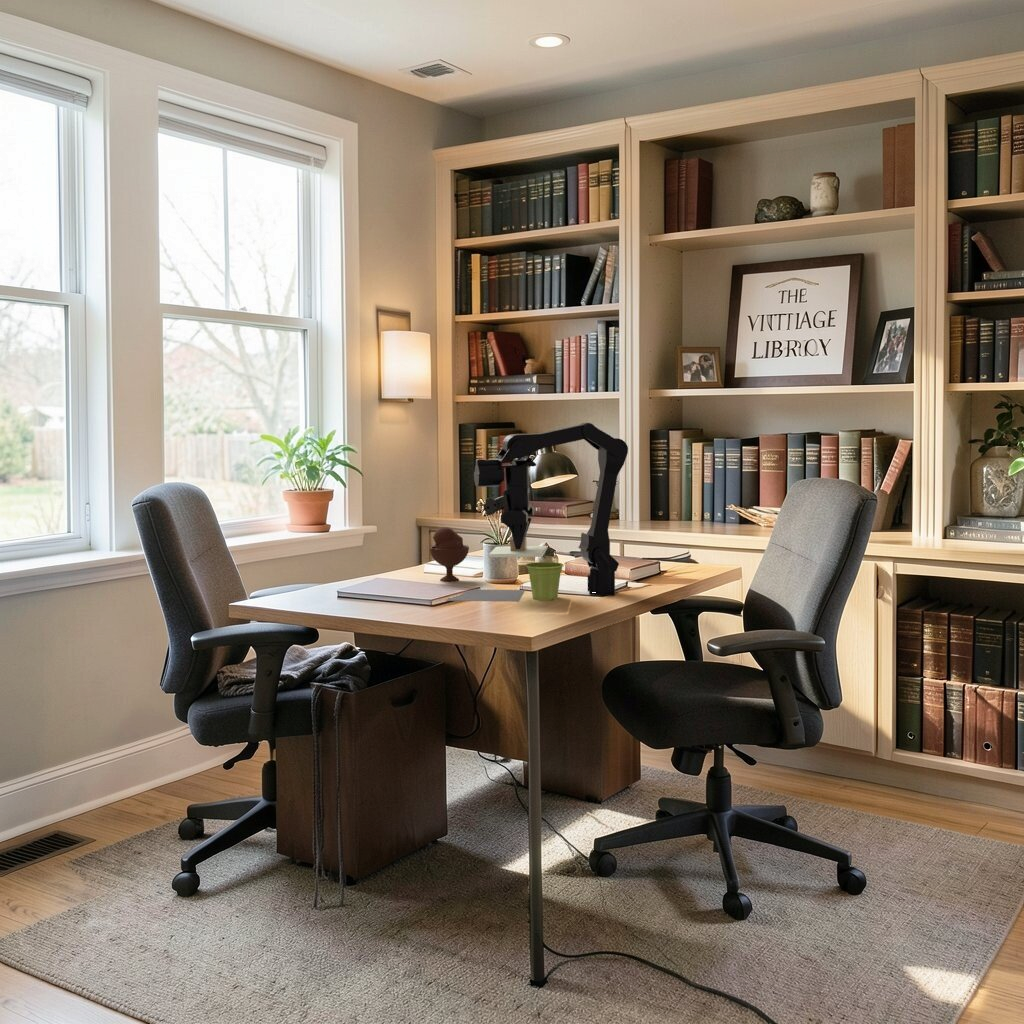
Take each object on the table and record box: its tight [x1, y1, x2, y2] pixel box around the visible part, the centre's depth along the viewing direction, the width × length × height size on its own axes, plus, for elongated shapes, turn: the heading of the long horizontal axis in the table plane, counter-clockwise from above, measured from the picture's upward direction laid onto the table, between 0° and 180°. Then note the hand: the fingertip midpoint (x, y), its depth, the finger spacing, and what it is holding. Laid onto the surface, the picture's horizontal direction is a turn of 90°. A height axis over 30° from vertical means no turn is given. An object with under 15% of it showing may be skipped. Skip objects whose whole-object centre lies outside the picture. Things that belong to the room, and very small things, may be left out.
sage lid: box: [488, 536, 548, 558], centre depth 267 cm, size 13×13×4 cm
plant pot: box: [525, 561, 564, 601], centre depth 266 cm, size 9×9×9 cm
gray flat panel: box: [445, 588, 526, 603], centre depth 271 cm, size 18×16×1 cm
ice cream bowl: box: [429, 526, 470, 583], centre depth 293 cm, size 11×11×15 cm
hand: (518, 547), depth 267 cm, fingers closed on sage lid, 4 cm apart
